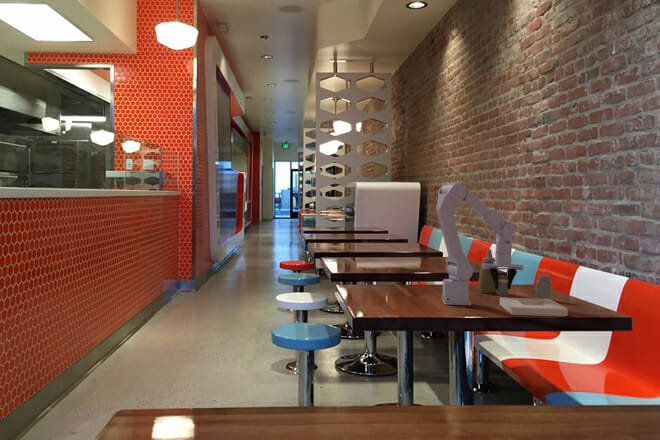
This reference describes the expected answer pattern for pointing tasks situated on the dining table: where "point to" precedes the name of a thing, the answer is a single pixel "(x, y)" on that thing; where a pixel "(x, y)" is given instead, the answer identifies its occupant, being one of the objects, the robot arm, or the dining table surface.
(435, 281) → the dining table surface
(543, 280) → the power adapter
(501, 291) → the grey spice jar
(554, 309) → the board
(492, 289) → the squeeze bottle
